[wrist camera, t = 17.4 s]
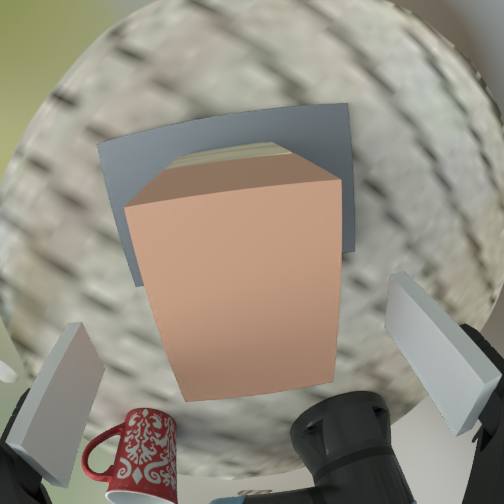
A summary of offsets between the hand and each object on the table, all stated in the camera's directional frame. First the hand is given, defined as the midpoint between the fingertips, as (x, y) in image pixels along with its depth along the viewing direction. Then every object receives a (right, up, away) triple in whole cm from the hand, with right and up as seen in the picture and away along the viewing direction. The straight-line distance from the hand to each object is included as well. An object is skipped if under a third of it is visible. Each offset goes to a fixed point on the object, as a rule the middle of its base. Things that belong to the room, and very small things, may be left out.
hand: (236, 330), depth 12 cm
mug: (-15, -20, +25) cm, 35 cm away
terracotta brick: (0, +4, +3) cm, 5 cm away
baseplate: (-1, +8, +14) cm, 16 cm away
